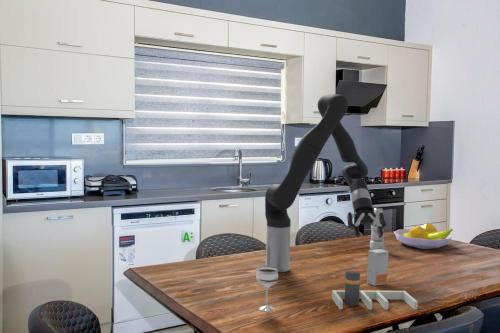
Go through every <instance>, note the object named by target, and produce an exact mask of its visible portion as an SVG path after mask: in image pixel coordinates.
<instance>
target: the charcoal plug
mask: <svg viewBox="0 0 500 333" xmlns="http://www.w3.org/2000/svg"><path fill="white" fill-rule="evenodd" d="M360 284H361V272H360V271H356V270H346V271H345V276H344V290H345V299H344V301H343V304H344V303H345V304H344V305H345V306H347V305H348V306H347V307H351V306H353V307H354V306H356V307H359V306H358V305H360V299H359V291H360V286H361V285H360Z"/></svg>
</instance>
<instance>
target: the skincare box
mask: <svg viewBox="0 0 500 333" xmlns="http://www.w3.org/2000/svg"><path fill="white" fill-rule="evenodd" d="M367 251H368V253H367V272H366V283H367V284H369V285H371V286H382V285H387V284H388V269H389V267H388V266H389V251H388V250H386V249H384V250H383V249H374V250H371V249H369V250H367Z"/></svg>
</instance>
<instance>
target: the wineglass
mask: <svg viewBox="0 0 500 333" xmlns="http://www.w3.org/2000/svg"><path fill="white" fill-rule="evenodd" d="M278 270H279V269H278V268H276V267H272V266H265V265H261V266H257V267H256V271H257V272H256V273H255V277H256V281H257V282H258V283H259V284H260V285H261V286H263V288H265V305H261V306H258V310H259V311H260V312H261V311H262V312H267V313H268V312H273V311H275V307H274V306H272V305H268V298H269V297H268V296H269V288H270V287H272V286H274V285H276V283H277V282H278V280H279V272H278Z"/></svg>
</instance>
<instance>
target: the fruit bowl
mask: <svg viewBox="0 0 500 333" xmlns="http://www.w3.org/2000/svg"><path fill="white" fill-rule="evenodd" d="M453 231H454V229H453V228H450V229H449V230H440V231H438V230H437V227H436V226H435V225H433V223H432V222H431V223H430V222H427V223H424V224H423V225H420V226H417V225H416V226H414V227H412V228H410V229H409V228H407V229H406V228H404V229H402V228H401V229H397V230H395V231H393V233H394V235H395V238H396V239H397V241H399V242H401V243H403V244H404V245H406V246H409V247H413V248H416V249H420V250H421V249H422V250H425V249H427V250H429V249H438V248H441V247H443V246H447V245H449V243H450V242H451V240H452V238H453V236H452V235H450V234H451V232H453Z"/></svg>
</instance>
